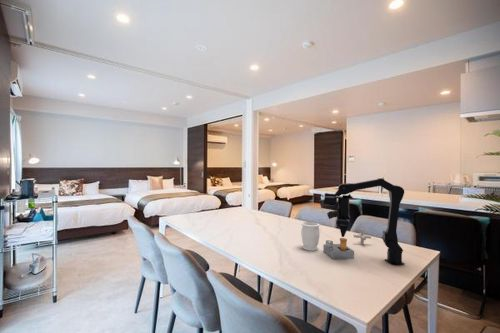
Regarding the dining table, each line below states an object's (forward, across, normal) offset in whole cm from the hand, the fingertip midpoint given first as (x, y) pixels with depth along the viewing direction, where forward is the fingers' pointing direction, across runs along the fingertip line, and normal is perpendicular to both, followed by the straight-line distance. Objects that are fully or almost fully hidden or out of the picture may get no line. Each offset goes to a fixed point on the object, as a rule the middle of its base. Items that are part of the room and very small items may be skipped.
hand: (343, 234), depth 132 cm
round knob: (+10, 0, 0) cm, 10 cm away
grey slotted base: (+12, -1, -2) cm, 12 cm away
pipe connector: (+12, -27, +10) cm, 31 cm away
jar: (+12, -4, -18) cm, 22 cm away
